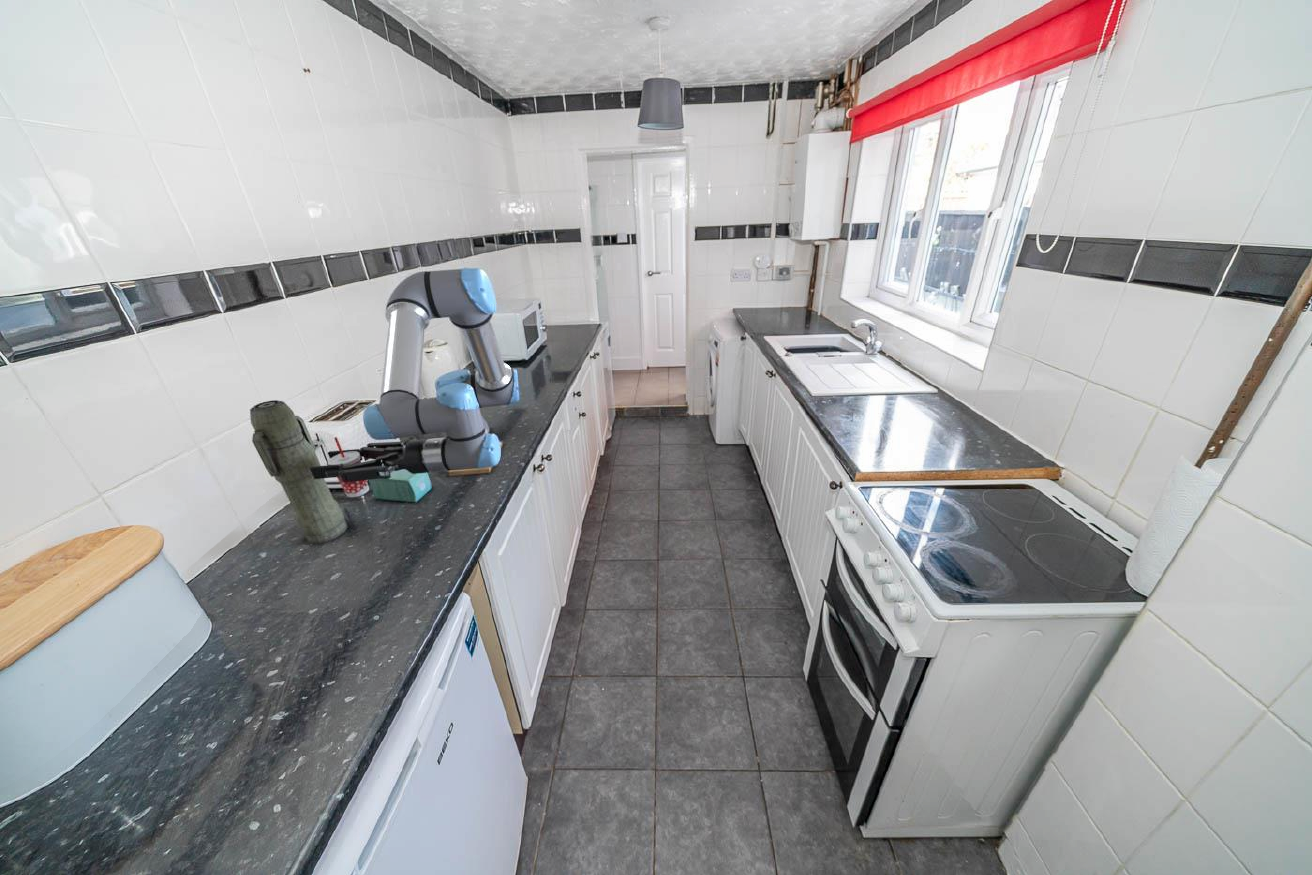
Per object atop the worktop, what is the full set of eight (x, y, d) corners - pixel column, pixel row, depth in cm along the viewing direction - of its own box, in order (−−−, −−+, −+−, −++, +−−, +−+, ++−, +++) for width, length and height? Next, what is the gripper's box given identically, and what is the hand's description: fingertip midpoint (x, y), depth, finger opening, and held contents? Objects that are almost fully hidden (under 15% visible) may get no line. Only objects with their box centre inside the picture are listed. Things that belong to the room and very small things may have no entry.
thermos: (358, 516, 120) (305, 393, 104) (330, 546, 109) (267, 413, 93) (324, 518, 120) (266, 395, 104) (294, 548, 109) (224, 416, 93)
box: (417, 503, 124) (409, 479, 121) (374, 500, 127) (365, 477, 123) (433, 488, 130) (426, 466, 127) (392, 485, 133) (384, 463, 130)
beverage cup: (351, 485, 107) (328, 432, 101) (377, 483, 107) (357, 430, 101) (337, 500, 101) (312, 445, 95) (365, 498, 102) (342, 443, 95)
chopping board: (466, 448, 152) (465, 444, 151) (502, 445, 153) (501, 441, 152) (449, 476, 136) (448, 472, 135) (490, 472, 137) (488, 468, 136)
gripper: (417, 493, 95) (302, 503, 94) (446, 450, 112) (350, 458, 111) (406, 462, 92) (287, 472, 90) (438, 422, 109) (338, 431, 107)
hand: (322, 464), depth 101 cm, fingers closed on beverage cup, 6 cm apart
